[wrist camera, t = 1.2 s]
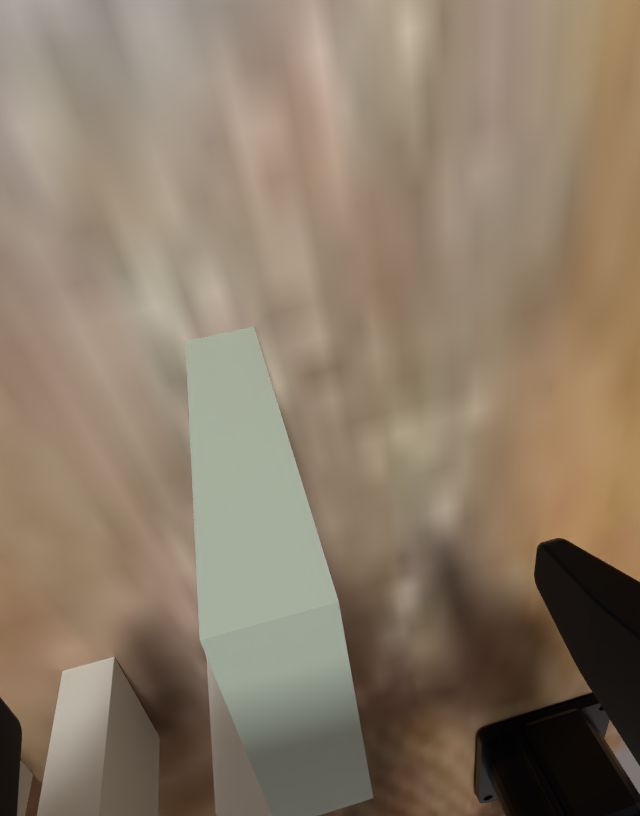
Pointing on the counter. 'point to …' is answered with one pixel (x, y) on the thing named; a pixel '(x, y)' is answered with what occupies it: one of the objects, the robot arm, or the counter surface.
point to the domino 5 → (268, 588)
